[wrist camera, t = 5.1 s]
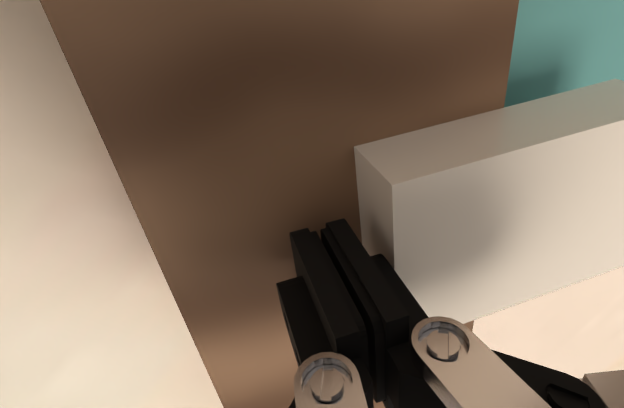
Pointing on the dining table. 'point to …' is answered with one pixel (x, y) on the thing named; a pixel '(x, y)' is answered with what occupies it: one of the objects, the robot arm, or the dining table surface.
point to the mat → (564, 47)
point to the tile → (499, 201)
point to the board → (265, 137)
